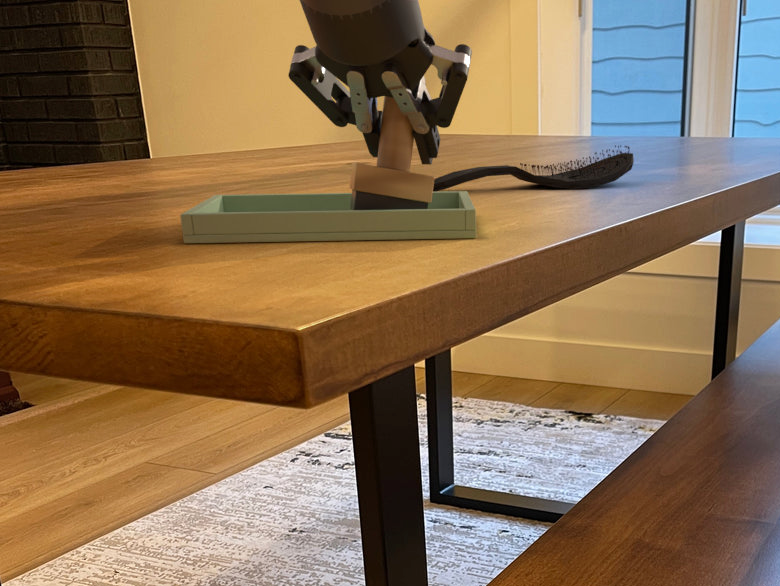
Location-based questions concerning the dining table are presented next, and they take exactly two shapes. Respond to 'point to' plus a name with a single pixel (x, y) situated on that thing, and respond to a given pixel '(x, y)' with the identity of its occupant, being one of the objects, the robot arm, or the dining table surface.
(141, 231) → the dining table surface
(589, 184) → the hairbrush
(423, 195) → the scrub brush
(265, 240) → the tray
